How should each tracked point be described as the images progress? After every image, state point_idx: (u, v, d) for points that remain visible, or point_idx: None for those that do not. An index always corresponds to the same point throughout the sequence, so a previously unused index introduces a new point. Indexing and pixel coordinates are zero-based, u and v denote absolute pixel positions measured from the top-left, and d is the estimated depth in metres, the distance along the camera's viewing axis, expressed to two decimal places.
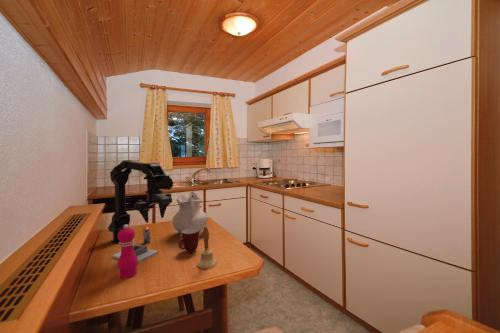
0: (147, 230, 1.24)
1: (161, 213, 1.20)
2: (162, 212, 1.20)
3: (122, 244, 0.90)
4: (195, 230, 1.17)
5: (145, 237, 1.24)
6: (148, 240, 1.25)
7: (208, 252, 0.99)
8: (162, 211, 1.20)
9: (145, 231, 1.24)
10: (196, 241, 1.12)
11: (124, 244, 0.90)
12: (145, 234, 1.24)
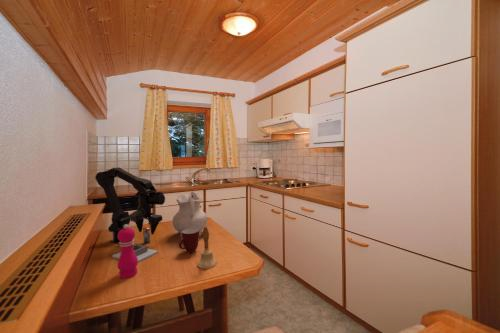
0: (147, 230, 1.24)
1: None
2: None
3: (122, 244, 0.90)
4: (195, 230, 1.17)
5: (145, 237, 1.24)
6: (148, 240, 1.25)
7: (208, 252, 0.99)
8: None
9: (145, 231, 1.24)
10: (196, 241, 1.12)
11: (124, 244, 0.90)
12: (145, 234, 1.24)
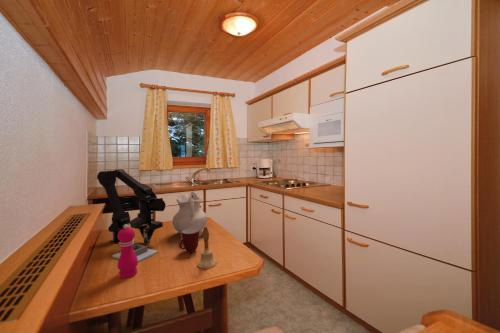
0: None
1: None
2: None
3: (122, 244, 0.90)
4: (195, 230, 1.17)
5: (145, 237, 1.24)
6: (148, 240, 1.25)
7: (208, 252, 0.99)
8: None
9: (145, 231, 1.24)
10: (196, 241, 1.12)
11: (124, 244, 0.90)
12: (145, 234, 1.24)
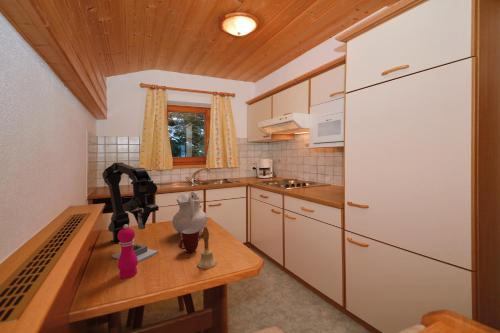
0: None
1: None
2: None
3: (122, 244, 0.90)
4: (195, 230, 1.17)
5: (140, 222, 1.16)
6: (143, 225, 1.17)
7: (208, 252, 0.99)
8: None
9: (140, 215, 1.16)
10: (196, 241, 1.12)
11: (124, 244, 0.90)
12: (140, 219, 1.16)
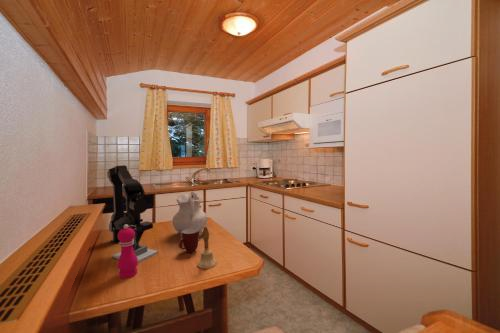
0: None
1: None
2: None
3: (122, 244, 0.90)
4: (195, 230, 1.17)
5: None
6: (136, 243, 1.09)
7: (208, 252, 0.99)
8: None
9: None
10: (196, 241, 1.12)
11: (124, 244, 0.90)
12: None
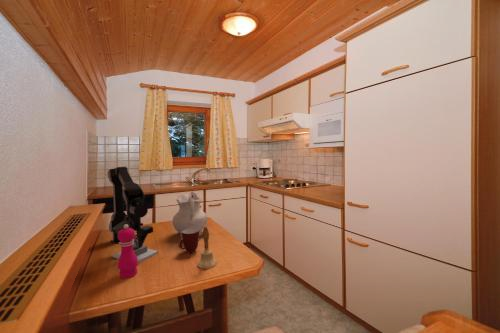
0: (136, 239, 1.09)
1: None
2: None
3: (122, 244, 0.90)
4: (195, 230, 1.17)
5: (133, 247, 1.09)
6: None
7: (208, 252, 0.99)
8: None
9: None
10: (196, 241, 1.12)
11: (124, 244, 0.90)
12: None
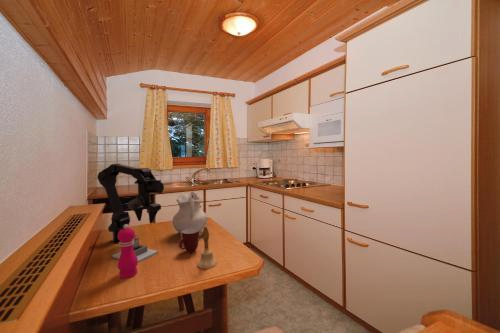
0: (135, 239, 1.09)
1: None
2: None
3: (122, 244, 0.90)
4: (195, 230, 1.17)
5: (133, 247, 1.09)
6: None
7: (208, 252, 0.99)
8: None
9: None
10: (196, 241, 1.12)
11: (124, 244, 0.90)
12: None
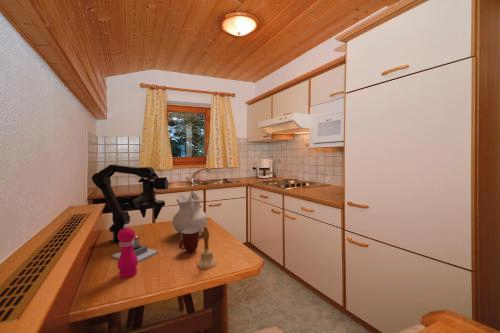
0: (136, 239, 1.09)
1: None
2: None
3: (122, 244, 0.90)
4: (195, 230, 1.17)
5: (133, 247, 1.09)
6: None
7: (208, 252, 0.99)
8: None
9: None
10: (196, 241, 1.12)
11: (124, 244, 0.90)
12: None
